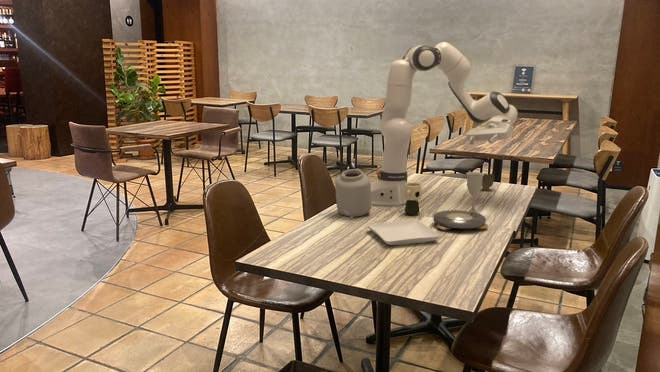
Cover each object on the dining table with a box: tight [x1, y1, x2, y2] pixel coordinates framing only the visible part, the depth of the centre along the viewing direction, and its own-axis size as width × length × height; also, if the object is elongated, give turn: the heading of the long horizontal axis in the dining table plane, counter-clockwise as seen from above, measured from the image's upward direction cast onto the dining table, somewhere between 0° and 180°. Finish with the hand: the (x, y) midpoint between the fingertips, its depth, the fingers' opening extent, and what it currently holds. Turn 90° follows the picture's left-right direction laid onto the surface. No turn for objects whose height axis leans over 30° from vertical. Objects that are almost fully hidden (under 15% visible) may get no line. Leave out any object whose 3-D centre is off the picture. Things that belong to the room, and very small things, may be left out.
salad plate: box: [366, 219, 441, 246], centre depth 205 cm, size 21×21×3 cm
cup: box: [481, 172, 495, 192], centre depth 276 cm, size 8×7×8 cm
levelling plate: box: [433, 209, 489, 231], centre depth 219 cm, size 20×21×4 cm
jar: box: [334, 162, 373, 218], centre depth 231 cm, size 19×15×25 cm
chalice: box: [465, 171, 484, 213], centre depth 231 cm, size 7×7×18 cm
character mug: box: [404, 182, 422, 216], centre depth 234 cm, size 11×7×13 cm, turn 149°
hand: (480, 142), depth 238 cm, fingers open, 8 cm apart
